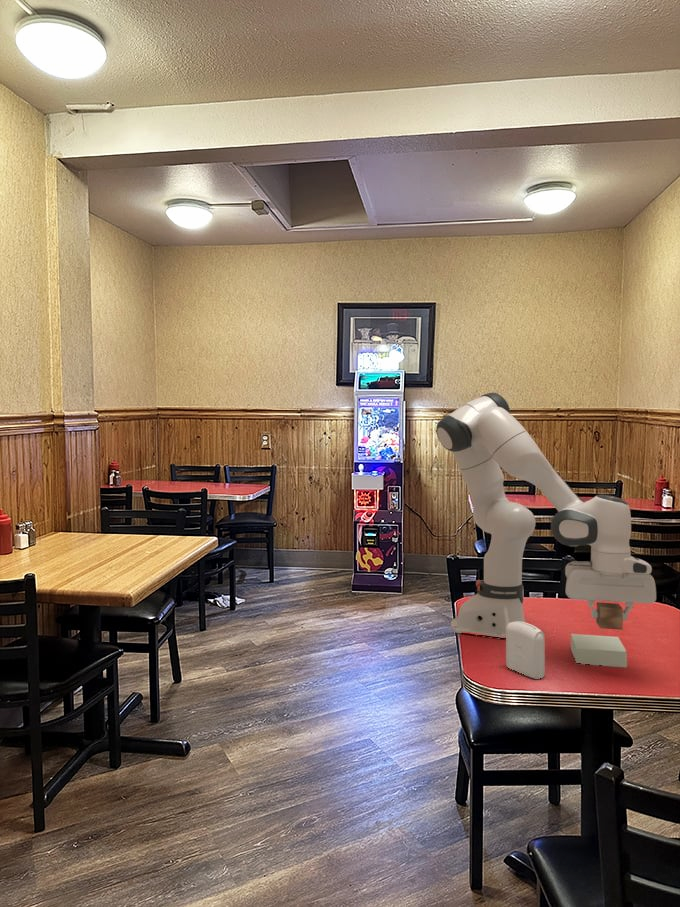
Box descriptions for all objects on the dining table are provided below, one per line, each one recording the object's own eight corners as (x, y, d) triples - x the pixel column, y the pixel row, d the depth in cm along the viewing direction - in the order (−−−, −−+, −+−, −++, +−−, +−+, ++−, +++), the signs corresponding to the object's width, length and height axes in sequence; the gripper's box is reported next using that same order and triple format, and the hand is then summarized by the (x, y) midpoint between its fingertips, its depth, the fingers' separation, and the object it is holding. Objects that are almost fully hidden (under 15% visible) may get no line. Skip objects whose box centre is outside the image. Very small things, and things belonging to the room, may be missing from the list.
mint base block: (576, 663, 162) (576, 648, 162) (570, 648, 174) (570, 633, 174) (626, 667, 159) (626, 651, 159) (617, 651, 171) (617, 636, 171)
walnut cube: (600, 628, 152) (600, 607, 152) (596, 622, 157) (596, 602, 157) (622, 629, 151) (622, 609, 151) (617, 623, 156) (618, 603, 156)
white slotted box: (503, 668, 160) (503, 619, 159) (515, 664, 162) (515, 616, 162) (535, 681, 151) (535, 630, 151) (547, 677, 153) (547, 627, 153)
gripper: (567, 563, 153) (566, 619, 153) (659, 567, 149) (657, 625, 149) (563, 557, 159) (562, 612, 159) (651, 561, 155) (650, 617, 155)
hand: (609, 618), depth 154 cm, fingers closed on walnut cube, 5 cm apart
